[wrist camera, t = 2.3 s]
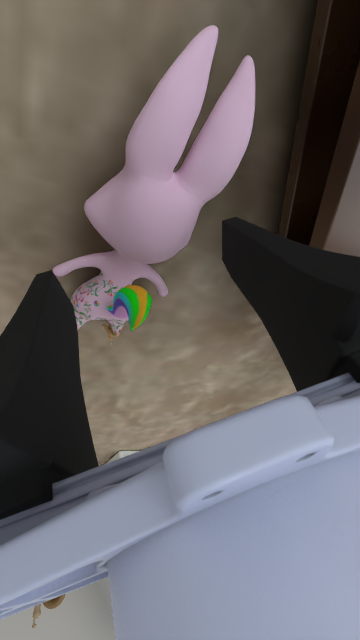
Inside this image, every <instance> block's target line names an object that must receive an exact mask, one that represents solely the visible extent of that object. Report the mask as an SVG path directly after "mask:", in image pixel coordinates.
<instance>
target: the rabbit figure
mask: <svg viewBox="0 0 360 640" xmlns="http://www.w3.org/2000/svg"><path fill="white" fill-rule="evenodd" d="M217 39H218V28H217V27H216V26H214V25H211V26H208V27H206V28H204V29H203V30H202V31H201V32H199V33H198V34H197V35H196V36H195V37H194V38H193V39H192V40H191V42H190V43H189V44H188V45H187V47H186V48H185V49H184V50H183V51H182V53H181V54H180V55H179V56H178V58H177V59H176V60H175V61H174V63H173V64H172V65H171V66H170V68H169V69H168V70H167V72H166V73H165V75H164V76H163V77H162V79H161V80H160V82H159V83H158V85H157V86H156V88H155V89H154V91H153V93H152V94H151V96H150V98H149V99H148V101H147V103H146V104H145V106H144V107H143V109H142V111H141V112H140V114H139V115H138V117H137V119H136V120H135V122H134V124H133V126H132V128H131V130H130V133H129V135H128V138H127V141H126V147H125V153H126V163H125V166H124V168H123V169H122V171H121V172H119V173H118V174H117V175H116V176H115V177H113V178H112V179H111V180H109V181H108V182H107V183H106V184H105V185H104V186H102V187H101V188H100V189H99V190H98V191H97V192H96V193H94V194H93V195H92V196H91V197H90V198H88V199H87V200H86V202H85V205H84V210H85V213H86V216H87V217H88V219H89V221H90V222H91V223H92V225H93V226H94V228H95V229H96V230H97V231H98V232H99V234H100V235H101V236H102V237H103V238H104V239H105V240H106V241H107V242H108V243H109V244H110V245H111V246H112V247H113V248H114V249H115V250H113V251H110V252H103V253H95V254H90V255H86V256H81V257H78V258H75V259H72V260H69V261H67V262H64V263H62V264H59V265H57V266H55V267H54V268H53V273H54V274H55V276H57V277H62V276H65V275H67V274H68V273H69V272H71V271H73V270H75V269H79V268H84V267H97V268H99V269H100V270H101V273H100V274H99V275H98V276H96V277H94V278H92V279H91V280H89V281H87V282H85V283H83V284H82V285H80V286H79V287H78V288H77V289H76V290H75V291H74V293H73V295H72V298H71V303H72V305H73V307H74V312H75V316H76V322H77V328H78V331H79V328H80V327H81V326H82V325H83V324H85V323H86V322H88V321H89V320H91V319H92V320H108V322H109V325H108V326H106V325H104V324H103V325H102V326H104V327H105V329H106V330H107V332H108V335H109V338H110V339H111V345H112V343H113V341H112V339H113V336H119V335H120V331H121V329H122V327H123V325H124V324H125V323H126V322H127V321H128V320H129V323H130V331H132V330H134V329H136V328H137V327H139V326H140V325H141V324H142V323H143V322H144V320H145V319H146V317H147V315H148V313H149V310H150V307H151V302H152V298H151V296H150V294H149V293H148V292H147V291H146V290H145V289H144V288H142V287H140V286H137V285H131V284H132V282H133V281H134V280H135V279H137V278H146V279H148V280H150V281H151V282H153V283H154V284H155V286H156V287H157V291H158V293H159V295H161V296H163V297H164V296H167V294H168V289H167V287H166V285H165V283H164V281H163V280H162V278H161V277H160V275H159V274H158V273H157V272H156V271H155V270H154V269H153V268H152V267H151V266H149V265H148V264H154V263H159V262H163V261H165V260H168V259H170V258H171V257H173V256H174V255H175V254H177V253H178V252H179V251H180V250H181V249H182V248H184V247H185V246H186V245H187V244H188V243H189V241H190V238H191V233H192V231H193V229H194V227H195V224H196V221H197V218H198V215H199V212H200V209H201V208H202V206H203V205H204V204H205V203H206V202H207V201H209V200H210V199H212V198H214V197H215V196H216V195H218V194H219V193H220V192H221V191H222V190H223V189H224V188H225V186H226V185H227V184H228V182H229V181H230V180H231V178H232V176H233V175H234V173H235V171H236V170H237V168H238V166H239V164H240V162H241V160H242V157H243V155H244V153H245V151H246V148H247V146H248V143H249V140H250V136H251V132H252V126H253V120H254V110H255V68H254V62H253V59H252V58H251V56H249V55H247V56H245V58H244V59H243V60H242V62H241V64H240V65H239V67H238V69H237V70H236V72H235V74H234V76H233V77H232V79H231V81H230V82H229V84H228V85H227V87H226V88H225V90H224V91H223V93H222V94H221V96H220V97H219V99H218V101H217V103H216V104H215V106H214V108H213V110H212V112H211V113H210V115H209V117H208V118H207V120H206V122H205V124H204V125H203V127H202V129H201V131H200V132H199V134H198V136H197V137H196V139H195V141H194V143H193V145H192V147H191V148H190V150H189V152H188V154H187V156H186V158H185V160H184V162H183V163H182V165H181V167H180V168H179V169H178V170H177V171H176V172H173V170H174V168H175V166H176V165H177V163H178V161H179V159H180V158H181V155H182V153H183V151H184V149H185V146H186V143H187V141H188V138H189V136H190V134H191V131H192V129H193V127H194V125H195V122H196V120H197V118H198V116H199V113H200V110H201V107H202V104H203V101H204V97H205V93H206V89H207V84H208V80H209V74H210V69H211V65H212V60H213V56H214V51H215V47H216V43H217Z"/></svg>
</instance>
